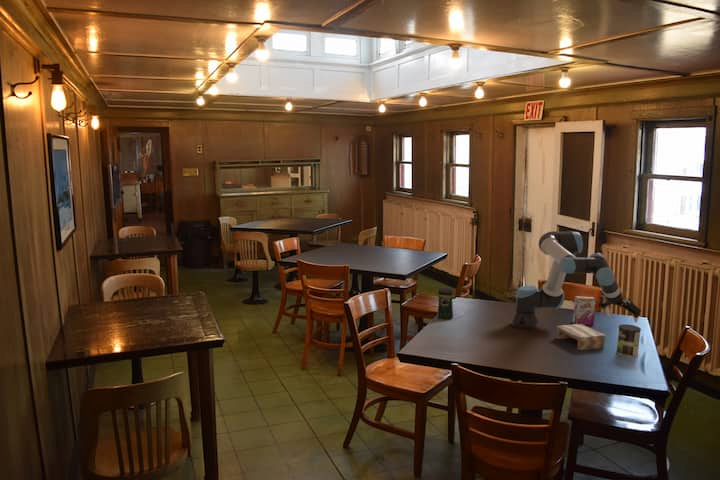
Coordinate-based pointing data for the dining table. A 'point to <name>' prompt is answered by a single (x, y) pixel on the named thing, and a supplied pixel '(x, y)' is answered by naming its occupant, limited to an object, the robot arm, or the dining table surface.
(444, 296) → the coffee jar
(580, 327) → the birch shelf
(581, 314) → the candy bar box
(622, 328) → the coffee can
